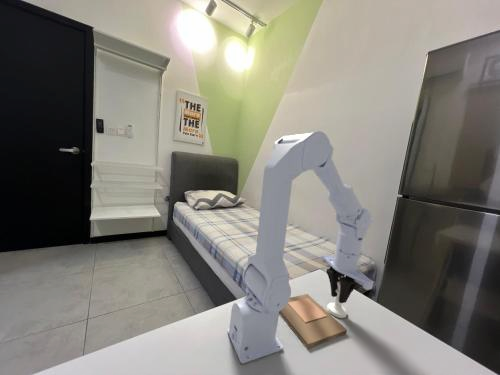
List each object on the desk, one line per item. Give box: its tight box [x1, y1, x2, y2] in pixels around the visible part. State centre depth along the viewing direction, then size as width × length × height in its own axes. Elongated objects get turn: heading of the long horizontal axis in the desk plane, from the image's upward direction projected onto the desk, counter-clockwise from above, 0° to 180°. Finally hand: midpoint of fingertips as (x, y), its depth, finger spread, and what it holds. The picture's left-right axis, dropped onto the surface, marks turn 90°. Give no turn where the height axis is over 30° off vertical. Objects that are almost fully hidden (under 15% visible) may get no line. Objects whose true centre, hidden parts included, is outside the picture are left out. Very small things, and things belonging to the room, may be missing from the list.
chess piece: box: [326, 276, 347, 319], centre depth 54 cm, size 5×5×10 cm
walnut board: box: [279, 293, 348, 349], centre depth 50 cm, size 12×14×1 cm
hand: (338, 298), depth 54 cm, fingers closed on chess piece
